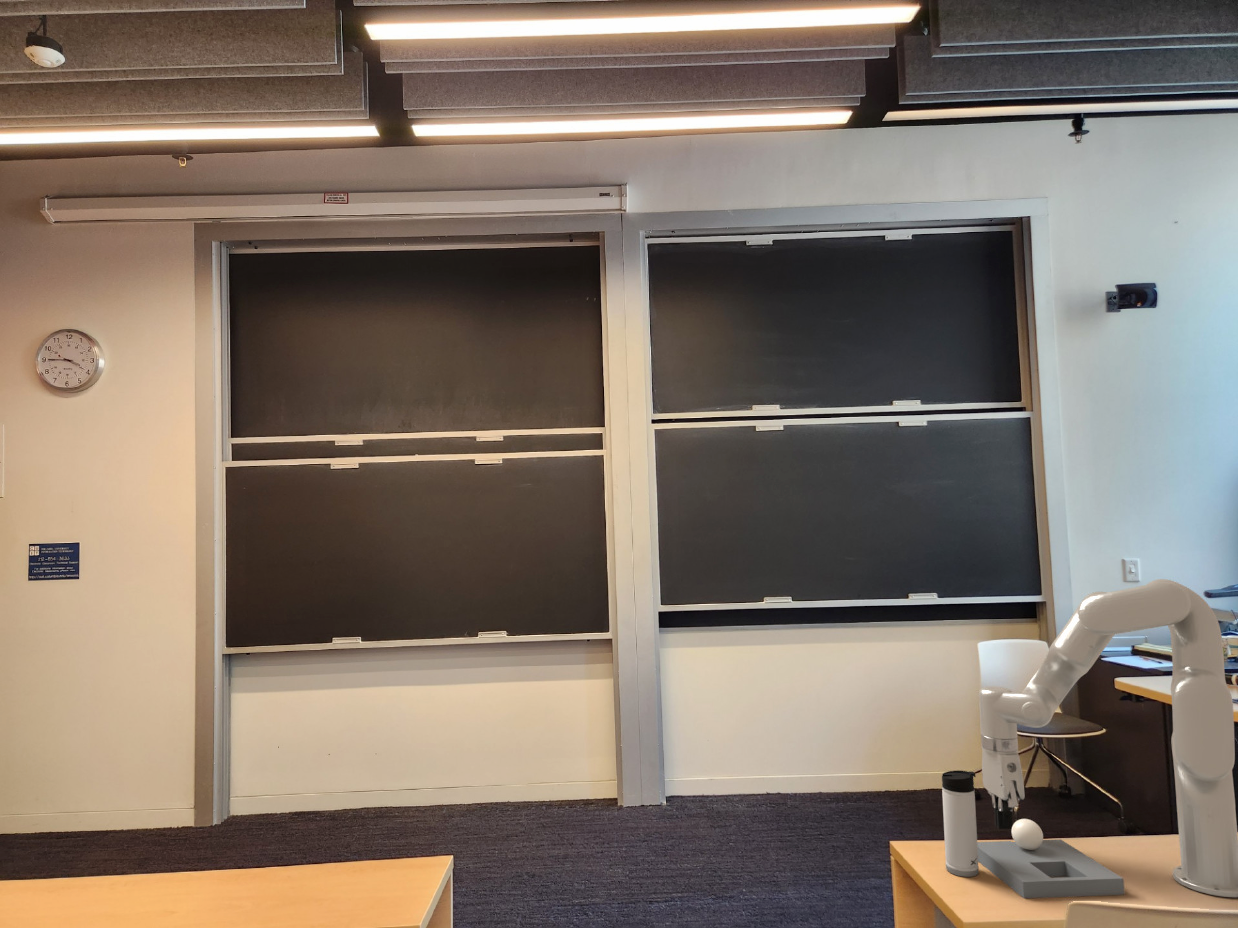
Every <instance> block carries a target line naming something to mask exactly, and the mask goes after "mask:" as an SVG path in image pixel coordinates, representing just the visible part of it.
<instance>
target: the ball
mask: <svg viewBox="0 0 1238 928" xmlns="http://www.w3.org/2000/svg"><path fill="white" fill-rule="evenodd" d="M1012 825H1013V826H1012V829H1011V836H1012V839H1013V841H1015V842H1016V843H1017V844H1018V845H1019V846H1020V847H1022V848H1024V849H1027V850H1034V849H1037V848H1038V847H1039V846H1040V845H1041V844H1042V842H1043V840H1044V833H1043V831H1042V829H1041V827H1040V826H1039V824H1038V823H1036V822H1035V821H1033V820H1031V819H1028V818H1021V819H1018V820H1016V821H1015V822H1013V823H1012Z"/></svg>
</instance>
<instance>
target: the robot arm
mask: <svg viewBox="0 0 1238 928" xmlns="http://www.w3.org/2000/svg"><path fill="white" fill-rule="evenodd" d="M1166 626H1167V627H1168V629H1169V632H1170V641H1171V653H1172V655H1171V656H1172V657H1171V658H1172V677H1171V683H1170V693H1171V694H1170V695H1171V707H1172V708H1171V709H1172V734H1171V751H1172V760H1173V761H1172V762H1173V770H1174V785H1175V797H1176V812H1177V828H1178V839H1179V850H1180V852H1179V853H1180V863H1181V864H1180V865H1179V866H1176V867H1173V869H1172V877H1173V879H1174V880H1175V881H1176V882H1177V883H1178V884H1180V885H1182V886H1183V887H1186V888H1189V889H1191V890H1193V891H1196V892H1199V893H1202V894H1203V893H1204V894H1207V895H1211V896H1216V897H1223V898H1238V825H1237V814H1236V798H1235V787H1234V777H1233V769H1234V765H1235V762H1236V761H1235V760H1236V757H1235V756H1236V753H1235V752H1236V751H1235V750H1236V749H1235V721H1234V717H1235V716H1234V703H1233V697H1232V693H1231V691H1230V689H1229V687H1228V685H1227V681H1226V675H1225V659H1224V648H1223V647H1224V646H1223V638H1222V632H1221V627H1220V623H1219V620H1218V618H1217V616H1216V614H1215V613H1214V611H1213V609H1212V608H1211V606H1210V605H1209V604H1208V602H1207V601H1205V599H1204V598H1202V596H1200V594H1198V593H1197V592H1195V591H1194V590H1192V589H1191V588H1189V587H1188V586H1185V585H1183V584H1182V583H1179V582H1177V581H1174V580H1171V579H1168V578H1167V579H1165V578H1161V579H1154V580H1152V581H1149V582H1148V583H1146V584H1144V585H1139V586H1136V587H1129V588H1125V589H1121V590H1120V589H1119V590H1114V591H1109V592H1107V591H1095V592H1090V593H1089V594H1087V595H1086V596H1085V597H1084V598H1083V599H1082V600H1081V602H1080V603H1079V605H1078V606H1077V607H1076V609H1075V610H1074V612H1073V613H1072V614H1071V617H1069V620H1068V621H1067V622H1066V623H1065V625H1064V626H1063V627H1062V629H1061V631H1059V633H1058V635H1057V636H1056V638H1055V639H1054V640H1053V642H1052V643H1051V645H1050V646H1049V648H1048V651H1047V653H1046V656H1045V658H1044V660H1043V662H1042V663H1041V664H1040V666H1039V667H1038V669H1037V671H1036V672H1035V673H1034V675H1033V676H1032V677H1031V678H1030V681H1029V682H1028V683H1027V685H1026V686H1025V687H1024V689H1023V690H1022V691H1021V692H1014V691H1013V690H1012V689H1010V688H1008V687H1003V686H983V687H982V688H981V689H979V691H978V702H979V705H978V706H979V722H980V724H979V725H980V742H981V743H980V745H981V750H982V751H981V752H982V754H981V755H982V756H981V775H982V785H983V787H984V789H986V790H987V793H988V794H989V795H990V797H991V802H992V807H993V811H994V812H993V813H994V815H993V816H994V827H996V828H997V829H999V830H1012V826H1013V813H1012V812H1013V811H1014V808H1018V807H1019V804H1018V800H1024V799H1025V796H1026V795H1025V786H1024V785H1025V784H1024V777H1023V770H1022V764H1021V759H1020V754H1019V744H1018V743H1019V742H1018V725H1021V726H1024V727H1029V728H1042V727H1045V726H1047V725H1048V724H1049V723H1050V722H1051V720H1052V719H1053V716H1054V714H1055V712H1056V711H1057V709H1058V708H1059V706H1060V705H1061V704H1062V702H1063V701H1064V699H1065V698H1066V696H1067V695H1068V694H1069V692H1070V691H1071V689H1072V688H1073V687H1074V686H1075V684H1076V683H1077V682H1078V681H1079V680H1080V679H1081V677H1083V676H1084V675H1086V674H1087V673H1088V672H1089V670H1090V669H1092V667H1093V666H1094V664H1095V663H1096V662H1097V660H1098V658H1099V657H1100V655H1101V654H1102V653H1103V652H1104V650H1105V648H1106V647H1107V646H1108V644H1109V643H1110V641H1111V640H1112V639H1113V638H1114V636H1115V635H1117V634H1118V635H1119V634H1126V633H1131V632H1139V631H1143V630H1148V629H1149V630H1150V629H1154V628H1160V627H1166ZM1017 724H1018V725H1017Z"/></svg>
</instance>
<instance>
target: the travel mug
mask: <svg viewBox="0 0 1238 928" xmlns="http://www.w3.org/2000/svg"><path fill="white" fill-rule="evenodd" d="M974 778H976V773H975V772H974V770H973V771H972V770H971V771H968V770H959V769H958V770H948V771H946V772H943V773H942V774H941V782H942V783H941V789H942V790H941V791H942V793H941V795H942V813H943V831H944V832H943V833H944V851H945V852H944V853H945V854H944V855H945V856H944V857H945V869H946V871H948V872H949V873H950V874H952V875H954V876H958V877H963V878H971V877H976V876H977V875H979V874H980V873H979V862H978V848H977V842H978V833H977V832H978V831H977V830H978V829H977V816H976V815H977V813H976V810H977V809H976V796H975V795H976V794H975V782H974V781H975V780H974Z"/></svg>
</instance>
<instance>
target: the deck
mask: <svg viewBox="0 0 1238 928" xmlns="http://www.w3.org/2000/svg"><path fill="white" fill-rule="evenodd" d="M1011 841H1012V840H1010V841H1009V840H1004V841H1002V840H1001V841H977V848H978V863H979V864H980V865H982V866H983V867H984V866H985V867H984V868H986V869H987V870H988V871H990V872H991V873H992V874H993V875H995V876H996V878H998V879H999V880H1001V881H1002V882H1003V883H1004V884H1005V885H1007V886H1008V888H1010V889H1012V890H1013V891H1014V892H1015V893H1017V894H1018V895H1019V896H1021V897H1022V898H1023V899H1037V898H1039V899H1041V898H1043V899H1044V898H1045V899H1046V898H1066V897H1068V898H1070V897H1092V896H1095V897H1097V896H1124V895H1125V882H1124V878H1123V877H1122V876H1120V875H1119V874H1117V873H1115V872H1113V870H1111V869H1109V868H1107V867H1106V866H1104V865H1103V864H1101V863H1099V862H1098V861H1096V860H1094V858H1091V857H1090V856H1088V855H1086V854H1085V853H1084V852H1082V851H1080V850H1078V849H1077V848H1076V847H1073V846H1072V845H1070V844H1069V843H1067V842H1066V841H1064V840H1062V839H1060V838H1059V839H1043V842H1042V844H1041V845H1040V846H1039V847H1038V848H1037V849H1034V850H1027V849H1024V848H1022V847H1020V846H1019V845H1018V844H1017V843H1016V842H1011Z"/></svg>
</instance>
